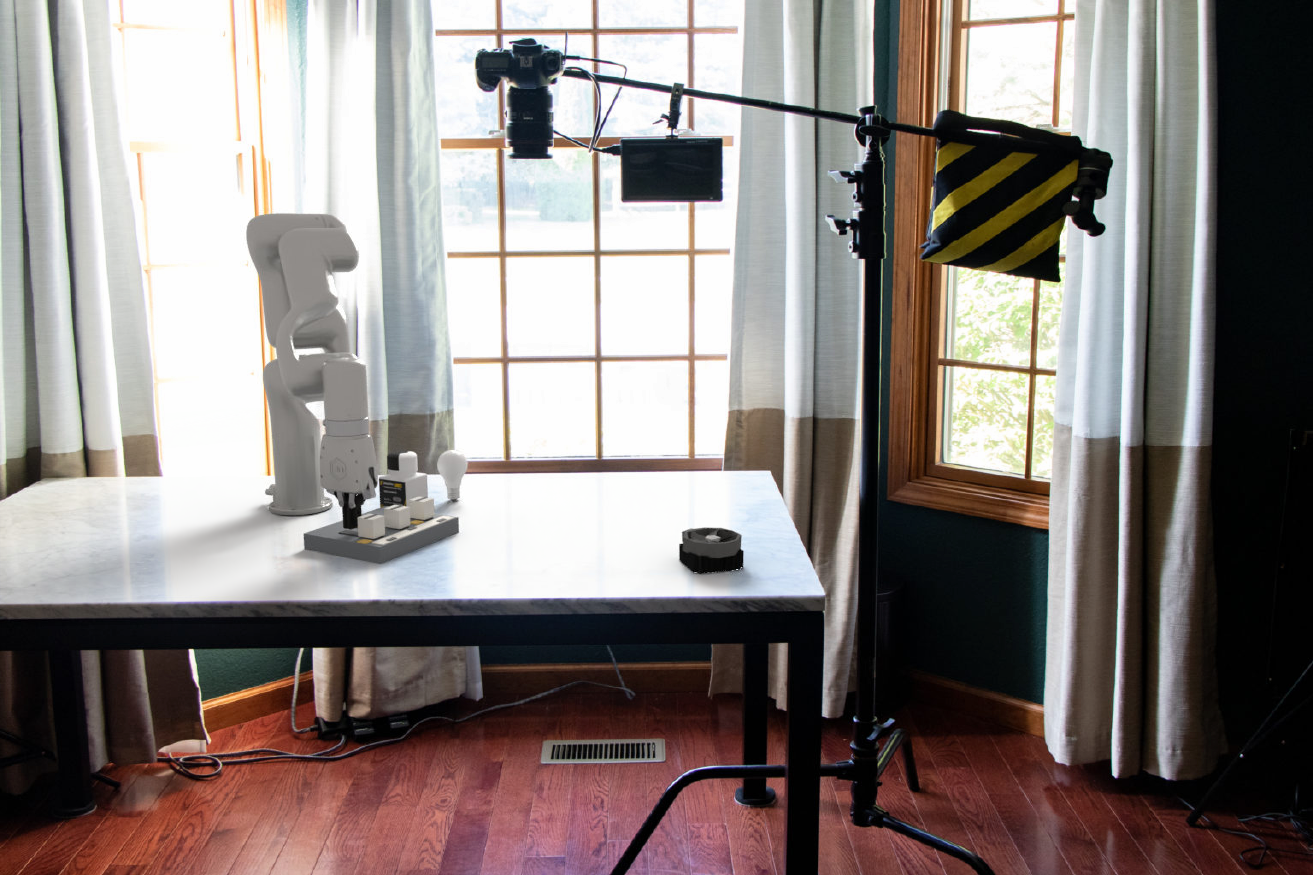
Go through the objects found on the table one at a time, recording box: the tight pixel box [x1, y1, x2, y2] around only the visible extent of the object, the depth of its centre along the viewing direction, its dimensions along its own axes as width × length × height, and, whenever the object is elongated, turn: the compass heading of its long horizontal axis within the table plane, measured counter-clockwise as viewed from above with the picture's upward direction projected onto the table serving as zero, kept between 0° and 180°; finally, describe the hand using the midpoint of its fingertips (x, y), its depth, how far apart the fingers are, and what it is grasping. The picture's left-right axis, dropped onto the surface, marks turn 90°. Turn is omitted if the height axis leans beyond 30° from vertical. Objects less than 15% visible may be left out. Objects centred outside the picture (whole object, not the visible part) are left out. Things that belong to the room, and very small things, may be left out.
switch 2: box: [384, 505, 410, 529], centre depth 199 cm, size 4×3×4 cm
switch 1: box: [358, 514, 385, 539], centre depth 193 cm, size 4×3×4 cm
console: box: [303, 506, 460, 565], centre depth 201 cm, size 18×22×3 cm
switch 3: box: [409, 496, 435, 520], centre depth 205 cm, size 4×3×4 cm
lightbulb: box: [436, 449, 469, 502], centre depth 230 cm, size 6×6×11 cm
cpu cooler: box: [678, 527, 745, 575], centre depth 188 cm, size 10×6×10 cm
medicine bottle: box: [378, 450, 429, 508], centre depth 223 cm, size 7×7×12 cm
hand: (352, 527), depth 195 cm, fingers closed
